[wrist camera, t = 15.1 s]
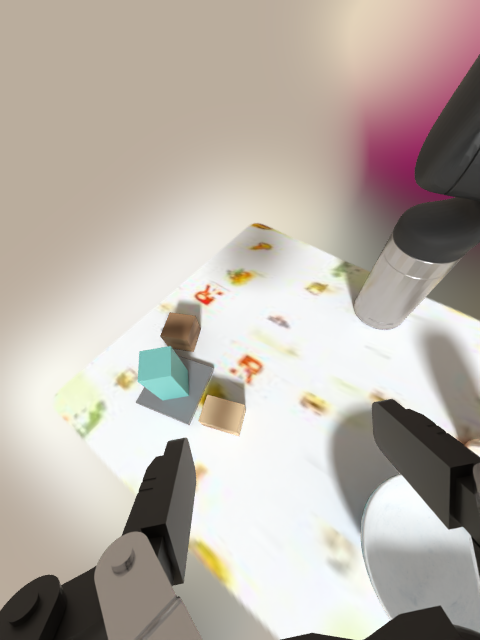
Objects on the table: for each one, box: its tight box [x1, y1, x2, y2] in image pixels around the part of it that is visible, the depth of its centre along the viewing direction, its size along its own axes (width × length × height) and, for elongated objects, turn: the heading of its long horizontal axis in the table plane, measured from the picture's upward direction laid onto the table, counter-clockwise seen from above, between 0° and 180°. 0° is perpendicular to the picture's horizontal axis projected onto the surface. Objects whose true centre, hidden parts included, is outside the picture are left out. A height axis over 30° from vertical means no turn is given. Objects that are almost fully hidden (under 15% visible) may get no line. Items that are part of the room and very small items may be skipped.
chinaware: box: [361, 474, 480, 633], centre depth 28 cm, size 15×15×8 cm
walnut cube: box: [160, 313, 201, 352], centre depth 47 cm, size 5×5×5 cm
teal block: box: [138, 346, 189, 400], centre depth 39 cm, size 4×4×10 cm
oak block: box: [198, 395, 246, 436], centre depth 39 cm, size 6×4×4 cm, turn 74°
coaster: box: [136, 356, 214, 425], centre depth 43 cm, size 10×10×1 cm
